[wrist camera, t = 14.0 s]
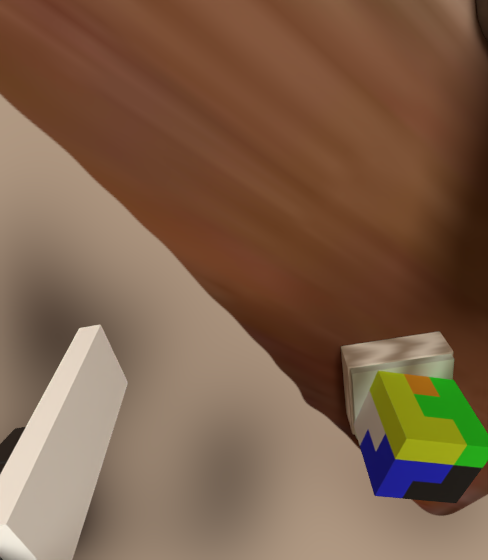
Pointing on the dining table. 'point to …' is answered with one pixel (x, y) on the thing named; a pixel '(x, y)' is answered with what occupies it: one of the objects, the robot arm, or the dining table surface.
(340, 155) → the dining table surface
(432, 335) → the plinth
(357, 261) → the dining table surface
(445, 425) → the puzzle toy
